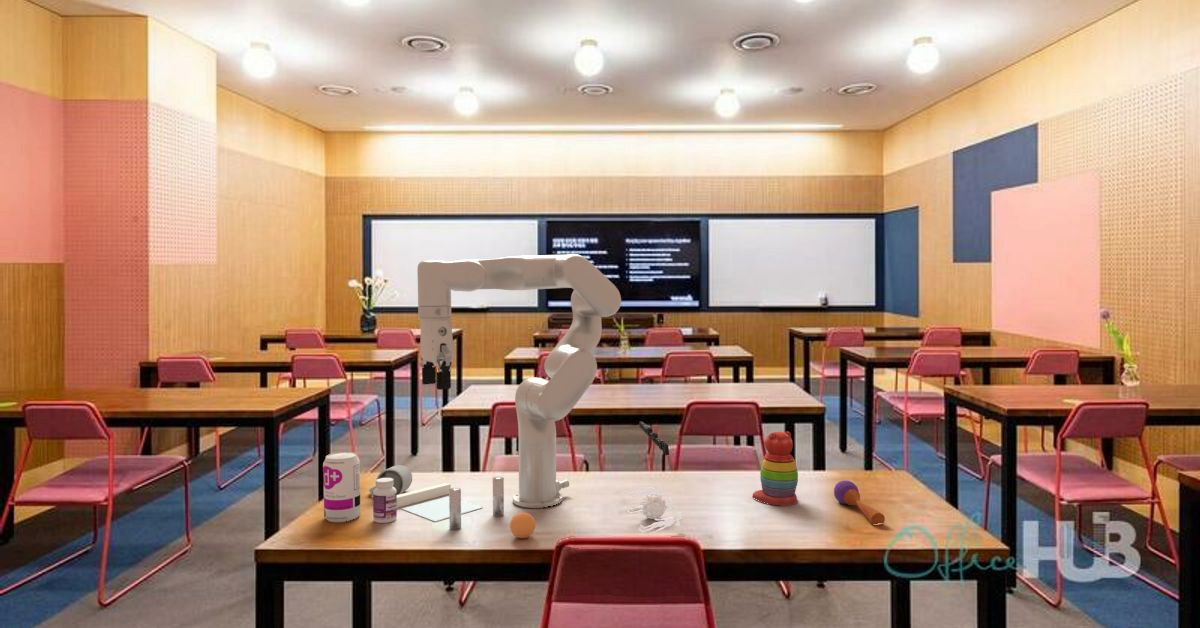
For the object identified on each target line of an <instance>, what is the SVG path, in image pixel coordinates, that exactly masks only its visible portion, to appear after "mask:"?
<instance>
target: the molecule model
mask: <svg viewBox="0 0 1200 628" xmlns="http://www.w3.org/2000/svg"><path fill="white" fill-rule="evenodd" d="M639 428H640V429H641V431H643V433H645V434H646V435H647V436H648V438H649V439H650V440H651V441H652V442H653V443H654V444H655V445H656V446H657V447H658V449H659V450H660V451H662V453H663V454H664V455H665V456H669V455H670V451H669V450H670V449H669V444H668V443H667V441H665V440H664V439H661V438H659V434H658V433H657V432H654V430H653V428H652V426H650V425H648V424H646V423H645V422H643V421H639ZM658 485H659V488H655V487H653V486H652V487H651V486H650V487H649V486H648V487H645V486H643V487H641V486H632V488H635V489H640V490H633V491H631V492H627V493H624V492H623V491H621V494H622V495H620V498H622V499H630V498H635V497H638V496H642V497H641V498H638V499H636V500H632V501H630V502H629V504H634V503H636V502H638V501H640V502H641V503H640V505H638V506H635V507H632V506H630V505H627V508H629V509H630V510H634V509H638V508H640V509H638V510H635V511H630V510H629V509H627V510H626V511H627V512H628V513H629V514H633V513H635V514H636V513H639V512H641V513H642V515H641V514H640V515H639V516H637V518H638V519H641V518H643V517H646V518H647V519H651V520H655V521H657V522H653V523H652V524H650V525H647V526H644V525H643V524H642V523H641V524H640V527H641V528H640V527H639V528H638V530H639V531H640V532H641V533H645V532H647V534H646V535H647V536H648V535H649V536H651V535H653V534H654V533H656V532H660V531H663V530H664V529H666V528H669V527H671V526H672V525H673V524H674V523H675V526H676V527H680V526H681V523H680V520H683V519H684V517H682V515H683V511H680V510H679V511H677V514H678V517H674V516H669V517H665V518H661V517H662V516H663V515H664V514H665V510H666V508H667V511H672V510H673V509H672V506H671V505H675V502H674V496H668V498H669V501H667V502H665V501H666V500H665V499H664V498H663V497H662V496H663V494H662V493H661V492H662V491H665V489H663V485H664V484H663V483H660V484H658ZM630 494H632V495H630ZM624 495H625V497H624ZM626 495H630V496H626ZM644 495H645V496H644ZM659 527H660V528H659ZM655 528H658V529H656V530H655V531H652V532H649V533H648V531H651V530H654V529H655Z"/></svg>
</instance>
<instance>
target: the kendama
mask: <svg viewBox="0 0 1200 628" xmlns="http://www.w3.org/2000/svg"><path fill="white" fill-rule="evenodd" d="M833 495H834V499H836V500H837V501H838V503H840V504H842V503H843V504H842V505H846V504H848V506H857V507H858V508H859V510H860V511H861V512H862V513H863V514H864V516H865V517H866V519H867V520H868V521H869V522H870V523H871V525H873V524H878V523H883V524H884V523H885V520H886V519H885V515H884V514H883V513H881V512H879V510H876V509H875V508H873V507H871V506H870V505H867V504H865V503H864V502H862V501H861V495H860V492H859V488H858V486H857V485H856V484H855V483H854V482H853V481H851V480H841V481H838V482H837V483H836V484H835V485H834V489H833Z"/></svg>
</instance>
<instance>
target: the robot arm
mask: <svg viewBox="0 0 1200 628" xmlns="http://www.w3.org/2000/svg"><path fill="white" fill-rule="evenodd" d="M565 288H566V289H568V288H569V289H570V288H571V289H572V290H573V291H572V293H571V296H570V306H571V310H572V322H571V325H570V327H569V328H568V330H567V331H566V333H565V334H564V335H563V336H562V337H561V339H560V340H559V342H558V343H557V344H556V345H555V346H554V348H553V349H552V350H551V351H550V353H549V354H548V355H547V357H546V358H545V360H544V365H543V366H544V371H545V373H546V375H547V377H549V378H550V379H546V378H542V377H536V376H535V377H534V376H533V377H529V378H526V379H524V380H523V381H522V382H521V383H520V384H519V385H518V386H517V389H516V390H515V397H514V403H515V411H516V416H517V424H518V425H517V427H518V429H517V430H518V493H515V494H514V495H513V496H512V503H513V504H515V505H516V506H517V507H521V508H527V509H544V508H543V507H545V508H549V507H548V506H551V507H553V505H555V506H557V505H559V504H560V502H561V501H563V495H562V494H561V493H560V491H561V490H562V489H566V488H568V487H570V481H569V480H568V479H564V480H561V481H559V480H557V430H556V429H557V428H556V422H557V421H560V420H562V419H564V418H565V417H567V415H568V414H569V413H570V412H571V411H572V410H573V408H575V406H576V404H577V403H578V402H579V401H580V400H581V398H582V397H583V396H584V394H585V393H586V392H587V390H588V389H589V388H590V386H591V385H592V384H593V382H594V380H595V378H596V375H597V371H598V364H597V360H596V357H595V356H594V354H593V352H594V351H595V348H596V347H597V346H598V344H599V343H600V340H601V338H602V330H603V326H602V318H608V317H611V316H613V315H615V314H616V313H617V312H618V311H619V309H620V308H621V304H622V297H621V294H620V291H619V289H618V288H617V286H616V285H615V284H614V283H613V282H612V281H610V280H609V278H607V277H606V276H605V275H604V274H603V273H602V272H601V270H599V269H598V268H597V267H596V266H595V265H594V264H593V263H592V262H591V261H590V260H588V259H587V258H586V257H584V256H582V255H580V254H577V253H570V254H545V255H516V256H515V255H513V256H506V257H500V258H499V257H498V258H490V259H456V260H451V261H446V260H422V261H420V262H418V265H417V307H418V308H417V311H418V312H417V313H418V314H417V315H418V316H417V318H418V321H420V337H419V338H420V339H419V340H420V341H419V342H420V346H419V347H420V357H421V382H422V383H421V384H422V385H433V384H434V385H435V384H436V390H438V391H439V390H440V391H441V390H449V389H451V388H452V379H451V378H452V374H451V372H452V367H451V366H452V364H453V363H452V362H454V358H455V357H454V356H455V355H454V354H455V353H454V341H453V340H454V339H453V328H452V323H451V320H452V291H455V292H467V293H468V292H474V291H478V290H504V291H525V290H526V291H529V290H530V291H531V290H545V289H547V290H549V289H565ZM435 364H436V366H435ZM436 369H437V371H436ZM558 503H559V504H558ZM556 504H557V505H556Z"/></svg>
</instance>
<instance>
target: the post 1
mask: <svg viewBox="0 0 1200 628" xmlns="http://www.w3.org/2000/svg"><path fill="white" fill-rule="evenodd" d="M448 496H449V516H450V518H449V530H451V531H458V530H461V529H462V514H461V500H462V488H461V487H451V489H449V494H448Z"/></svg>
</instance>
